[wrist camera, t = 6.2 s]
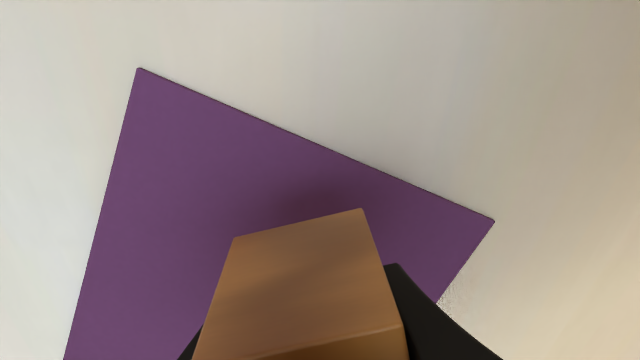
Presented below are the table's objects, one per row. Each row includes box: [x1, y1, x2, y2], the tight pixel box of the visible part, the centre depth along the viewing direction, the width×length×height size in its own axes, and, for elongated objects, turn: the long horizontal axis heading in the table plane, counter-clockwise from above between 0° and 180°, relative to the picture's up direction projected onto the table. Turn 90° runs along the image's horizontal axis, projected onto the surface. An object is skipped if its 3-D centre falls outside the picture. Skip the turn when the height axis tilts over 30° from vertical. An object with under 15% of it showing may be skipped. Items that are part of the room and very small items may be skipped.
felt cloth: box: [63, 68, 495, 360], centre depth 21 cm, size 20×20×1 cm
